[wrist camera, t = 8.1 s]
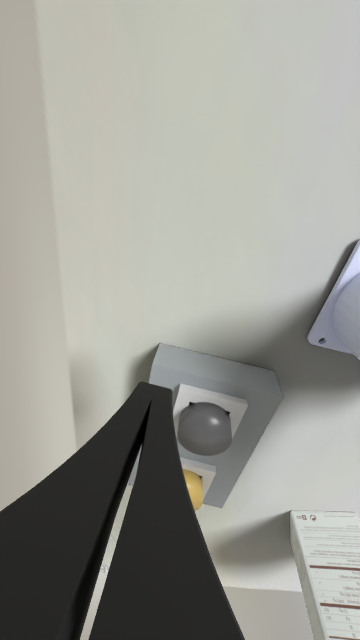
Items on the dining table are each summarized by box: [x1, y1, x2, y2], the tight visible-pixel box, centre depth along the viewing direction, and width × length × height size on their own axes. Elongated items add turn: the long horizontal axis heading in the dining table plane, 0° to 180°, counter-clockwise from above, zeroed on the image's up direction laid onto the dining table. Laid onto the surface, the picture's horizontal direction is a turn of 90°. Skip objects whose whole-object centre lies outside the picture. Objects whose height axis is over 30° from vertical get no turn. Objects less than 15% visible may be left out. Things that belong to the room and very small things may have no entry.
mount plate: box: [128, 343, 284, 508], centre depth 22 cm, size 10×16×4 cm, turn 168°
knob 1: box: [183, 469, 203, 511], centre depth 23 cm, size 4×4×5 cm
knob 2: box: [177, 402, 232, 456], centre depth 20 cm, size 4×4×5 cm
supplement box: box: [290, 511, 360, 640], centre depth 24 cm, size 7×7×13 cm
